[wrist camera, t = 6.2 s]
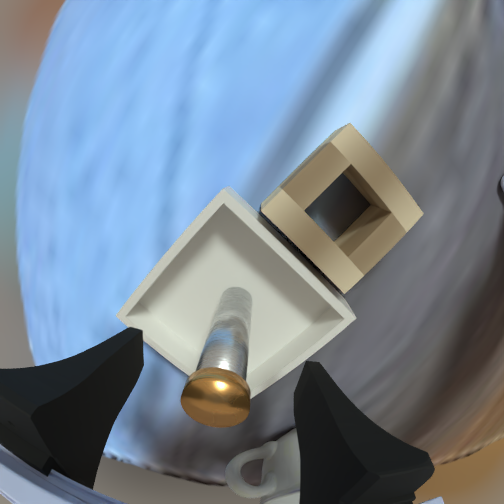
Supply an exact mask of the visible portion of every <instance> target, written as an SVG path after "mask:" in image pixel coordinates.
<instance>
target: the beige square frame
mask: <svg viewBox="0 0 504 504" xmlns="http://www.w3.org/2000/svg"><path fill="white" fill-rule="evenodd" d="M341 173H343V174H344V175H345V176H346V177H347V178H348V179H349V180H350V181H351V183H352V184H353V185H354V186H355V187H356V188H357V189H358V191H359V192H360V193H361V194H362V195H363V196H364V198H365V199H366V200H367V201H368V202H369V203H370V206H369V207H368V208H367V209H366V210H365V211H364V212H363V213H362V214H361V215H360V217H359V218H358V219H357V220H356V221H355V222H354V223H353V224H352V225H351V226H350V227H349V228H348V229H347V230H346V231H345V232H344V233H342V234H341V235H340V236H339V237H338V238H337V239H336V240H335V241H334V242H333V241H332V240H331V238H330V237H329V236H328V235H327V234H326V233H325V232H324V231H323V230H322V229H321V228H320V227H319V226H318V225H317V224H316V223H315V222H314V221H313V220H312V219H311V218H310V217H309V216H308V214H307V213H306V212H305V211H304V210H305V209H306V208H307V207H308V206H309V205H310V204H311V203H312V202H313V201H314V200H315V199H316V198H317V197H318V196H319V195H320V194H321V193H322V192H323V191H324V190H325V189H326V188H327V187H328V186H329V185H330V184H331V183H332V182H333V181H334V180H335V179H336V178H337V177H338V176H339V175H340V174H341ZM261 212H262V213H263V214H264V215H266V216H267V217H268V218H269V219H270V220H271V221H272V222H273V223H274V224H275V225H276V226H277V227H278V228H279V229H280V230H281V231H282V232H283V233H284V234H285V235H286V236H287V237H288V238H289V239H290V240H291V241H292V242H293V243H294V244H295V245H296V246H297V247H298V248H299V249H300V250H301V251H302V252H303V253H304V254H305V255H306V256H307V257H308V258H309V259H310V260H311V261H312V262H313V263H314V264H315V265H316V266H317V267H318V268H319V269H320V270H321V271H322V272H323V273H324V274H325V275H326V276H327V277H328V278H329V279H330V280H331V281H332V282H333V283H334V284H335V285H336V286H337V287H338V288H339V289H340V290H341V291H342V292H343V293H344V294H345V293H346V292H347V291H348V290H349V289H350V288H352V287H353V286H354V285H355V284H356V283H357V282H358V281H359V280H360V279H361V278H362V277H363V276H364V275H365V274H366V273H367V272H368V271H369V270H370V269H371V268H373V267H374V266H375V265H376V264H377V263H378V262H379V261H380V260H381V259H382V258H383V257H384V256H385V255H386V254H387V253H388V252H389V251H390V249H391V248H392V247H393V246H394V245H395V244H396V243H397V242H398V241H399V240H400V239H401V238H402V237H403V236H404V235H405V234H406V233H407V232H408V231H409V229H410V228H411V227H412V226H413V225H414V224H415V223H416V222H417V221H418V220H419V219H420V217H421V216H422V215H423V212H422V211H421V210H420V208H419V207H418V205H417V204H416V202H415V201H414V200H413V198H412V197H411V195H410V194H409V193H408V191H407V190H406V189H405V187H404V186H403V185H402V183H401V182H400V181H399V179H398V178H397V177H396V175H395V174H394V173H393V172H392V170H391V169H390V168H389V167H388V165H387V164H386V163H385V162H384V161H383V159H382V158H381V157H380V156H379V155H378V153H377V152H376V151H375V150H374V149H373V148H372V146H371V145H370V144H369V143H368V142H367V141H366V140H365V138H364V137H363V136H362V135H361V134H360V133H359V132H358V131H357V130H356V129H355V128H354V126H353V125H352V124H351V123H349V124H347V125H345V126H343V127H341V128H339V129H337V130H336V131H334V132H333V133H332V134H331V135H330V136H329V137H328V138H327V139H326V140H325V141H324V142H323V143H322V144H321V145H320V146H319V147H318V148H317V149H316V150H315V151H313V152H312V153H311V154H310V155H309V156H308V157H307V158H306V159H305V160H304V161H303V162H302V163H301V164H300V165H299V166H298V167H297V168H296V169H295V170H294V171H293V172H292V173H291V174H290V175H289V176H288V177H287V178H286V179H285V180H284V181H283V182H282V183H281V184H280V185H279V186H278V187H277V188H276V189H275V190H274V191H273V192H272V193H271V194H270V195H269V196H268V197H267V198H266V199H265V200H264V201H263V202H262V203H261Z"/></svg>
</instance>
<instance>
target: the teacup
mask: <svg viewBox="0 0 504 504" xmlns="http://www.w3.org/2000/svg"><path fill="white" fill-rule="evenodd" d="M256 459H264V461H263V467H262V478H261V484H260V485H259V486H252V485H249V484H248V483H246V482H245V481H244V479H243V478H242V476H241V467H242V466H243V465H244V464H245V463H247V462H249V461H252V460H256ZM225 479H226V482H227V485H228V486H229V487H230V489H231V490H232V491H233V492H234V493H235V494H237V495H239V496H241V497H245V498H257V497H261V498H260V499H261V500H260V504H299V500H300V451H299V444H298V438H297V431H296V428H295V429H293V430H291V431H290V432H288V433H287V434H285V435H284V436H282V437H281V438H279V439H278V440H277V441H269V442H267V443H265V444H264V445H263V446H262V447H259V448H254V449H251V450H247V451H245V452H242V453H240V454H238V455H237V456H235V457H234V458H233V459H232V460H231V461H230V462H229V463H228V465H227V467H226V470H225Z"/></svg>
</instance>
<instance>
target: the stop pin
mask: <svg viewBox="0 0 504 504" xmlns="http://www.w3.org/2000/svg"><path fill="white" fill-rule="evenodd" d="M252 306H253V300H252V297H251V295H250V293H249V292H248V291H247V290H245V289H244V288H241V287H230V288H228V289H226V290H225V291H224V292H223V293H222V295H221V297H220V300H219V303H218V306H217V309H216V312H215V314H214V317H213V320H212V323H211V326H210V329H209V332H208V335H207V338H206V341H205V344H204V347H203V350H202V353H201V356H200V359H199V362H198V365H197V368H196V371H195V372H193V373H192V374H191V375H190V376H189V377H188V379H187V381H186V384H185V386H184V389H183V392H182V395H181V405H182V408H183V409H184V411H185V412H186V413H187V414H188V415H189V416H190V417H191V418H192V419H194V420H195V421H197V422H199V423H202V424H204V425H207V426H212V427H231V426H234V425H237V424H239V423H241V422H242V421H244V420H245V419H246V418H247V416H248V414H249V411H250V397H251V391H250V387H249V385H248V384H247V382H246V378H247V366H248V354H249V342H250V330H251V318H252Z"/></svg>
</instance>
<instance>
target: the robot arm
mask: <svg viewBox="0 0 504 504" xmlns="http://www.w3.org/2000/svg"><path fill="white" fill-rule="evenodd" d="M501 187H502V189H503V192H504V176H503V177H502V179H501ZM143 366H144V357H143V330H141V329H137V328H134V327H129V328H127V329H125V330H123V331H122V332H120V333H118V334H116V335H115V336H113V337H111V338H109V339H107V340H106V341H104V342H102V343H100V344H98V345H96V346H94V347H92V348H90V349H88V350H86V351H84V352H82V353H79V354H77V355H75V356H72V357H69V358H66V359H63V360H60V361H57V362H53V363H49V364H45V365H40V366H35V367H27V368H16V369H0V494H1V495H2V496H4V497H5V498H6V499H7V500H9V501H10V502H11V503H13V504H127V503H124V502H121V501H118V500H116V499H113V498H111V497H108V496H106V495H103V494H101V493H99V492H96V491H94V490H93V486H94V482H95V477H96V474H97V470H98V466H99V463H100V459H101V456H102V453H103V450H104V448H105V445H106V442H107V439H108V437H109V434H110V431H111V429H112V426H113V424H114V422H115V420H116V418H117V416H118V414H119V412H120V411H121V409H122V407H123V405H124V404H125V402H126V400H127V399H128V397H129V395H130V393H131V392H132V390H133V388H134V386H135V385H136V383H137V381H138V378H139V376H140V373H141V371H142V368H143ZM294 417H295V424H296V431H297V438H298V444H299V451H300V500H299V504H413V503H412V501H414V500H415V498H416V497H415V494H414V492H415V491H416V490H417V489H418V488H419V487H421V486H422V485H423V484H424V483H425V482H426V481H427V480H428V479H429V478H430V477H431V476H432V474H433V473H434V470H435V468H434V466H433V463H432V461H431V459H430V457H429V455H428V453H427V452H425V451H423V450H420V449H418V448H416V447H413V446H411V445H409V444H407V443H405V442H403V441H401V440H399V439H397V438H396V437H394V436H392V435H391V434H389V433H388V432H386V431H385V430H383V429H382V428H380V427H379V426H378V425H376V424H375V423H374V422H372V421H371V420H370V419H369V418H368V417H367V416H366V415H364V414H363V413H362V412H361V411H360V410H359V409H358V408H357V407H356V406H355V405H354V404H353V403H352V402H351V401H350V400H349V399H348V398H347V396H346V395H345V394H344V393H343V392H342V391H341V389H340V388H339V387H338V386H337V384H336V383H335V382H334V381H333V379H332V378H331V377H330V375H329V374H328V373H327V372H326V370H325V369H324V368H323V366H322V365H321V364H320V363H319V362H312V361H306V363H305V365H304V368H303V371H302V373H301V376H300V379H299V381H298V384H297V386H296V389H295V392H294ZM420 504H444V502H443V499H442V497H437V498H434V499H431V500H428V501H425V502H422V503H420Z"/></svg>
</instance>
